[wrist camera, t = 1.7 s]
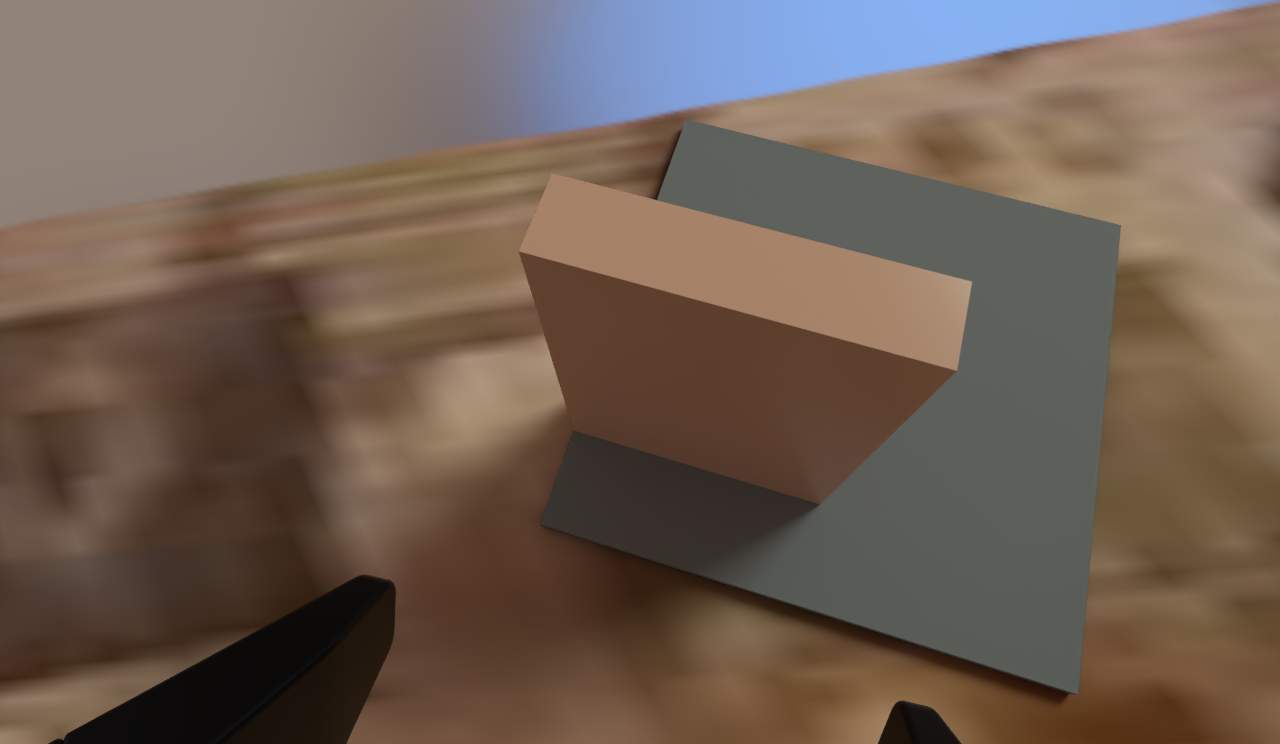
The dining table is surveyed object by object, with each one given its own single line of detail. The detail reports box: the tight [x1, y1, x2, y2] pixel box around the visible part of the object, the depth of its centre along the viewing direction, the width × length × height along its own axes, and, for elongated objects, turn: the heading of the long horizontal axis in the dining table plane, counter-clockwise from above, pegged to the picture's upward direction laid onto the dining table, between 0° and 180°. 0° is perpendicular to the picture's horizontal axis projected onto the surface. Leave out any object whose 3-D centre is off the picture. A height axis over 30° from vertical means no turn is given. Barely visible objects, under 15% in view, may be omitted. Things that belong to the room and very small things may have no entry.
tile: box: [519, 173, 972, 504], centre depth 19 cm, size 2×8×11 cm, turn 73°
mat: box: [540, 120, 1121, 695], centre depth 25 cm, size 16×16×1 cm
